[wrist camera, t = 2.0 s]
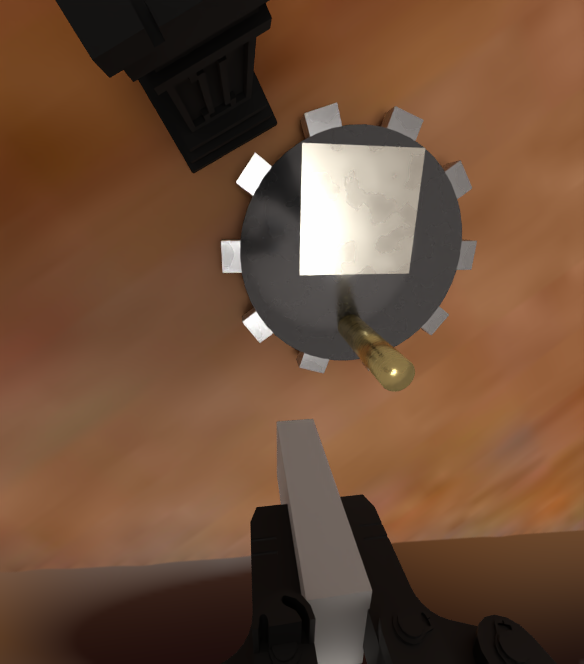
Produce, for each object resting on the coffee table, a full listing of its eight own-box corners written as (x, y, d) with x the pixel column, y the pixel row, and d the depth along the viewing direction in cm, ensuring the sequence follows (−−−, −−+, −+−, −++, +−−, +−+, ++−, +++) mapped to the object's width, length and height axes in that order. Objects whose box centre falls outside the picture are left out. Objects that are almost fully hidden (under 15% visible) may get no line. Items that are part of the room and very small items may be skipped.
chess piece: (132, 68, 24) (-222, -405, 6) (224, 12, 24) (165, -681, 5) (193, 173, 27) (90, 84, 9) (276, 125, 27) (353, -76, 8)
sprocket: (230, 369, 32) (223, 451, 21) (213, 103, 25) (191, 12, 14) (441, 358, 36) (532, 423, 25) (485, 119, 28) (647, 55, 17)
